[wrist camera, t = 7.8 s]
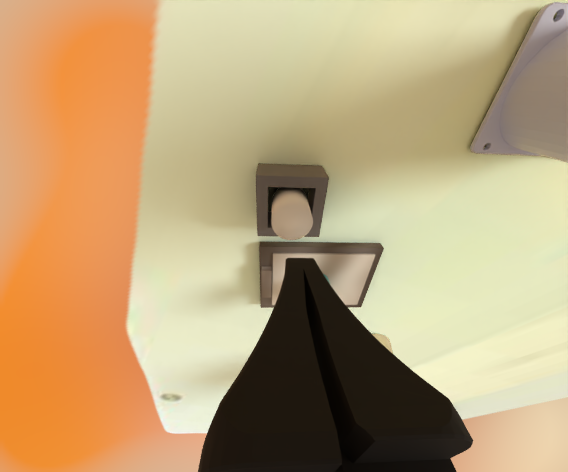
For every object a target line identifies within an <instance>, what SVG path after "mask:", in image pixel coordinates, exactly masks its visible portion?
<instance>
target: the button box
mask: <svg viewBox="0 0 568 472" xmlns="http://www.w3.org/2000/svg"><path fill="white" fill-rule="evenodd" d="M328 180H329V177H328V175H327V173H326V172H325V170H324V168H323V167H322V166H314V165H284V164H258V167H257V172H256V198H257V233H258V236H278V235H277V234H276V233H275V232H274V230H273V228H272V224H271V220H272V212H268V187H290V188H309V195H308V203H309V207H310V210H311V214H312V217H313V225H312V228H311V230H310V231H309V233H308V234H307V235H305V236H304V237H319V234H320V228H321V222H322V216H323V210H324V204H325V198H326V192H327V186H328Z"/></svg>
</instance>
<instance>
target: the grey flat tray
mask: <svg viewBox="0 0 568 472" xmlns="http://www.w3.org/2000/svg"><path fill="white" fill-rule="evenodd" d="M383 249H384V248H383V246H382V245H381V243H320V242H260V245H259V252H260V294H261V308H262V307H274V306H275V304H276V301H277V298H278V295H279V293H280V289H281V286H282V282H283V279H284V274H285V261H286V259H287V258H314V260H315V261H316V263H317V265H318V266H319V268H320V270H321V271H322V273H323V274H324V275H326V276H327V277H328V279H329V282H330V285H331V286H332V288H333V289H334V291H335V292H336V293H337V295H338V296H339V297H340V299H341V300H342V301H343V302H344V304H345V305H346V306H347V307H361V306H362V303H363V301H364V298H365V295H366V293H367V290H368V288H369V285H370V283H371V280H372V277H373V275H374V272H375V270H376V267H377V264H378V262H379V259H380V257H381V254H382V252H383Z"/></svg>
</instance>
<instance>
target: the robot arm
mask: <svg viewBox="0 0 568 472" xmlns="http://www.w3.org/2000/svg"><path fill="white" fill-rule="evenodd" d="M556 12H557V15H556V18H555V19H554V21H553V17H554V15H555V13H556ZM485 144H487V145H486V147H485V148H483V147H484V146H485ZM470 150H471V152H474V153H483V154H509V155H534V156H546V157H549V158H553V159H557V160H560V161H564V162H568V3H559V2H555V3H551V4H547V5H545V6H544V7H542V9H541V10H540V11H539V12H538V13H537V15H536V17H535V19H534V21H533V23H532V25H531V27H530V29H529V31H528V33H527V35H526V37H525V39H524V41H523V43H522V45H521V47H520V49H519V51H518V53H517V55H516V56H515V58H514V60H513V62H512V64H511V66H510V68H509V70H508V72H507V74H506V76H505V78H504V80H503V82H502V84H501V86H500V88H499V90H498V92H497V94H496V96H495V98H494V100H493V102H492V104H491V106H490V108H489V110H488V112H487V114H486V116H485V118H484V120H483V122H482V124H481V126H480V128H479V130H478V132H477V134H476V136H475V138H474V140H473V142H472V144H471V146H470ZM472 442H473V439H472V438H471V436H470V434H469V432H468V430H467V429H466V427H465V425H464V423H463V421H462V419H461V417H460V416H459V414H458V412H457V411H456V409H455V408H454V406H453V405H452V403H451V401H450V400H449V399H448V398H447V397H446V396H444V395H443V394H442V393H440V392H439V391H438V390H436V389H435V388H434V387H433V386H431V385H430V384H429V383H427V382H426V381H425V380H423V379H422V378H421V377H419V376H418V375H417V374H416V373H414V372H413V371H412V370H411V369H410V368H408V367H407V366H406V365H405V364H404V363H402V362H401V361H400V360H399V359H398V358H397V357H396V356H395V355H393V354H392V353H391V352H390V351H389V350H388V349H387V348H386V347H385V346H384V345H383V344H382V343H380V342H379V341H378V340H377V339H376V338H375V337H374V336H373V335H372V334H371V333H370V332H369V331H368V330H367V329H366V328H365V327H364V326H363V325H362V323H361V322H360V321H359V320H358V319H357V318H356V317H355V316H354V315H353V313H352V312H351V311H350V310H349V309H348V307H347V306H346V305H345V304H344V302H343V301H342V300H341V299H340V297H339V296H338V295H337V293H336V292H335V291H334V289H333V288H332V286H331V285H330V284H329V282H328V281H327V279H326V278H325V276H324V274H323V273H322V271H321V270H320V268H319V266H318V265H317V263H316V261H315V260H314V258H287V259H286V261H285V274H284V279H283V282H282V286H281V289H280V293H279V295H278V298H277V301H276V304H275V306H274V309H273V311H272V314H271V316H270V318H269V320H268V323H267V325H266V327H265V329H264V331H263V333H262V335H261V337H260V339H259V341H258V343H257V344H256V346H255V348H254V350H253V352H252V353H251V355H250V357H249V358H248V360H247V362H246V363H245V365H244V367H243V368H242V370H241V372H240V373H239V375H238V377H237V378H236V380H235V381H234V383H233V384H232V386H231V387H230V389H229V390H228V392H227V393H226V395H225V396H224V398H223V399H222V401H221V402H220V404H219V407H218V409H217V411H216V413H215V416H214V418H213V420H212V423H211V425H210V428H209V430H208V433H207V436H206V438H205V442H204V445H203V449H202V454H201V459H200V464H199V470H198V472H456V470H455V468H454V465H453V463H452V461H451V459H450V458H451V457H453V456H455V455H457V454H460V453H462V452H464V451H466V450H467V449H469V448H470V447H471V445H472Z"/></svg>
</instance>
